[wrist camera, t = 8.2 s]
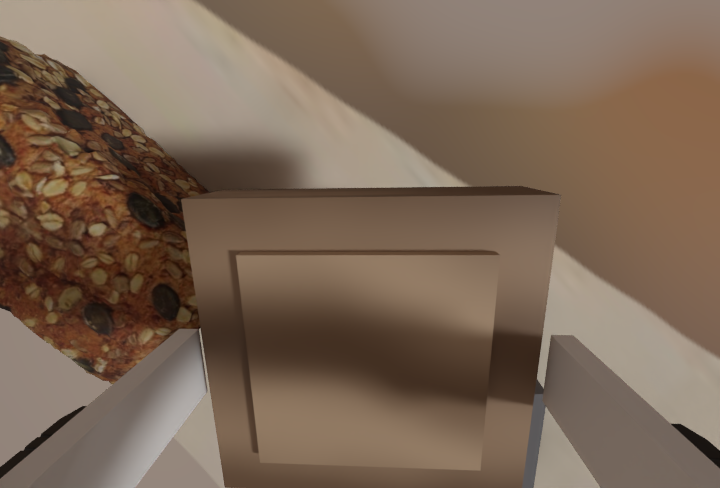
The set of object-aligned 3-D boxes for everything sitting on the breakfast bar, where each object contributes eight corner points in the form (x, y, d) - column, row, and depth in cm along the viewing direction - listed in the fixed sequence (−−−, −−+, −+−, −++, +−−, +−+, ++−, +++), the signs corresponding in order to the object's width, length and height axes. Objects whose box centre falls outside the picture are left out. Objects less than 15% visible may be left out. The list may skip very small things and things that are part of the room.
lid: (495, 437, 16) (524, 509, 13) (251, 430, 17) (220, 496, 14) (520, 185, 13) (568, 196, 10) (222, 190, 14) (173, 200, 11)
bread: (1, 164, 25) (-240, 170, 15) (80, 51, 23) (-144, -26, 13) (193, 334, 28) (93, 431, 18) (281, 249, 25) (221, 308, 16)
